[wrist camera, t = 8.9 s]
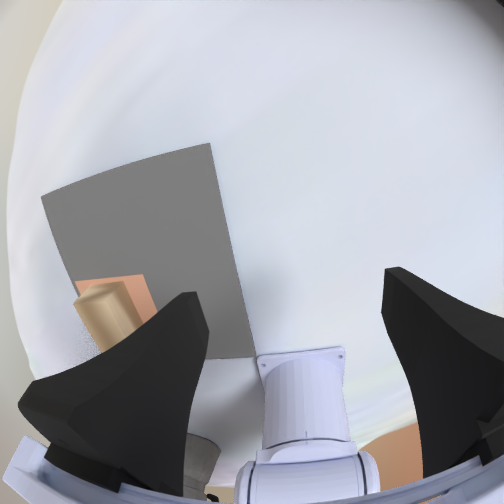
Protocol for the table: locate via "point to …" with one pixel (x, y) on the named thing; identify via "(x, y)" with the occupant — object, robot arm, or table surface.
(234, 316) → the mat
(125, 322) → the card box
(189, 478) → the coffeepot
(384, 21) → the table surface
